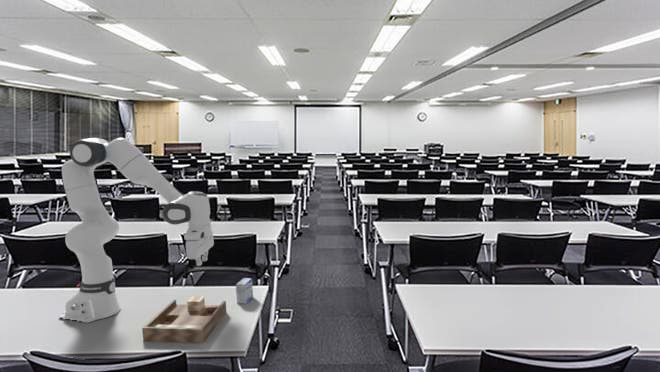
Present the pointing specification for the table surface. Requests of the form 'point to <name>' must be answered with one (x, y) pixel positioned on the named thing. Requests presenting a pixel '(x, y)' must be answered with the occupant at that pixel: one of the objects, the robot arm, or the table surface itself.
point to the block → (196, 303)
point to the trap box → (183, 323)
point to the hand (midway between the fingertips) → (202, 263)
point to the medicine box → (244, 290)
